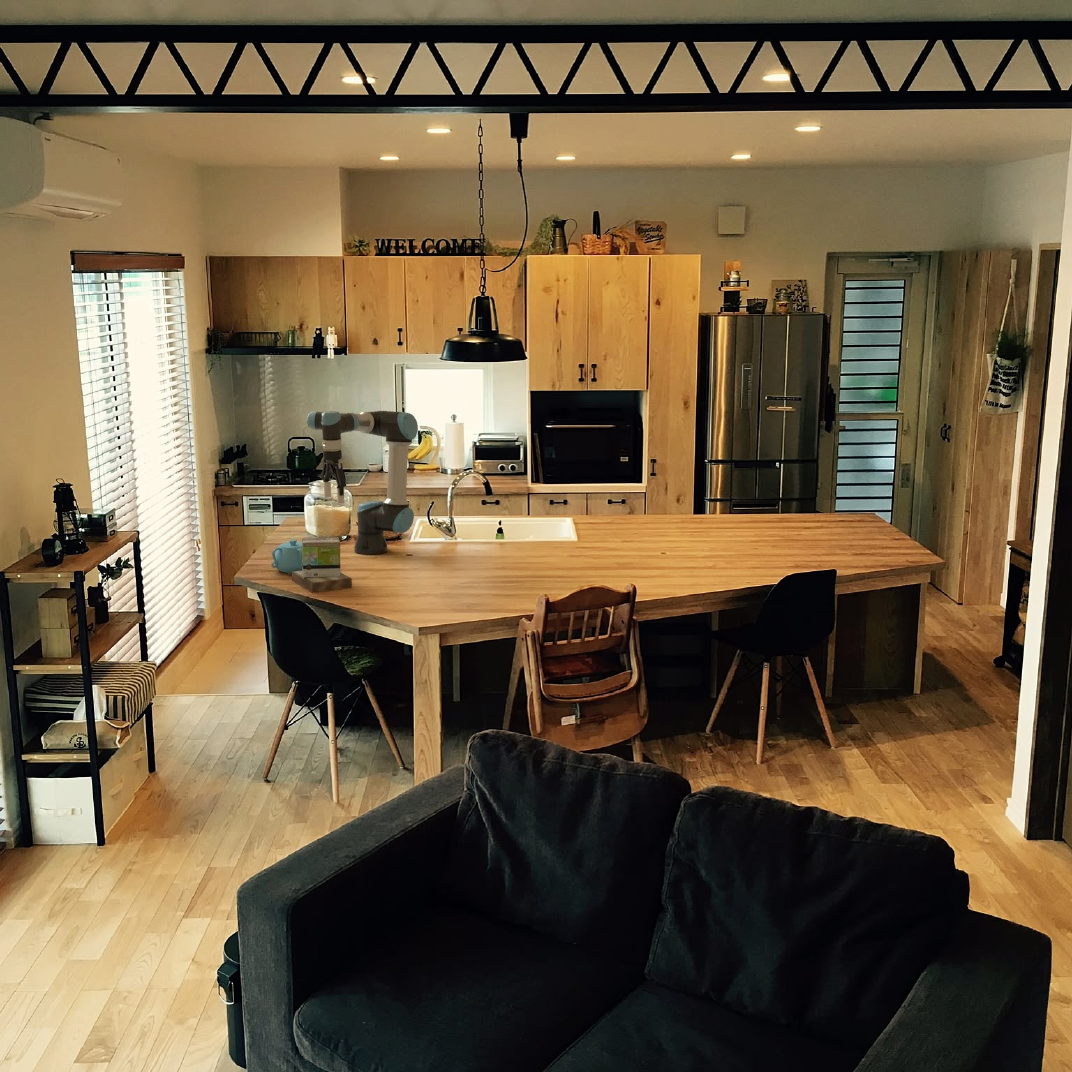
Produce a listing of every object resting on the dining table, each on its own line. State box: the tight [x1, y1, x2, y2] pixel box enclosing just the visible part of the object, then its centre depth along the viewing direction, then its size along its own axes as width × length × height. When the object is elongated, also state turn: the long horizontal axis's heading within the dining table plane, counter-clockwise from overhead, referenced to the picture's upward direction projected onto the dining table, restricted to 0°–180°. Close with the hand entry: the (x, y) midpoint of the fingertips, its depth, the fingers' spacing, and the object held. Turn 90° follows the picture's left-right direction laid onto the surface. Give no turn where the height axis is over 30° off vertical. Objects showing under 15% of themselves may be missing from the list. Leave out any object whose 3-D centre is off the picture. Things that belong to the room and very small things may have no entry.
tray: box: [291, 570, 353, 594], centre depth 465 cm, size 17×22×4 cm
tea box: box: [301, 536, 341, 578], centre depth 463 cm, size 15×10×15 cm, turn 103°
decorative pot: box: [270, 539, 303, 575], centre depth 485 cm, size 16×16×14 cm
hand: (334, 500), depth 473 cm, fingers open, 13 cm apart
